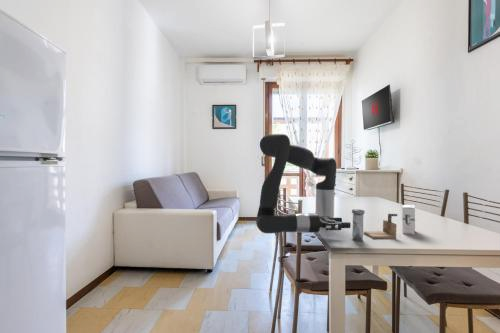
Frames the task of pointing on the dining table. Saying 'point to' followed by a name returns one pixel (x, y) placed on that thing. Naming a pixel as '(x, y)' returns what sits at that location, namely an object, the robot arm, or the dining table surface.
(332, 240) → the dining table surface
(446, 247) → the dining table surface
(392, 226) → the block
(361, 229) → the steel pin
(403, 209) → the ink box
